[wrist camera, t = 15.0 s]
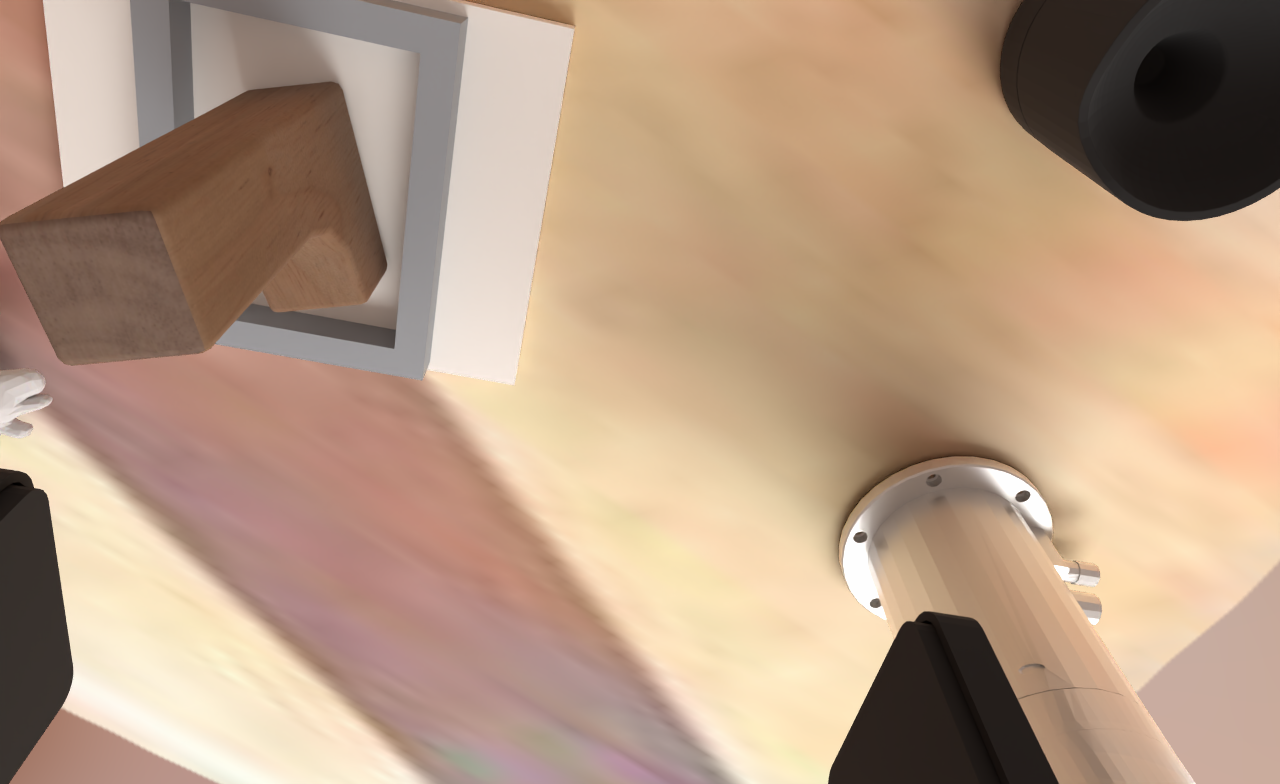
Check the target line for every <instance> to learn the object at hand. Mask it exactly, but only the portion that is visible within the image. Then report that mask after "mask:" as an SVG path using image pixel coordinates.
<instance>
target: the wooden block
mask: <svg viewBox="0 0 1280 784" xmlns="http://www.w3.org/2000/svg"><path fill="white" fill-rule="evenodd" d="M0 239H1V241H2V243H3V245H4V247H5V250H6V252H7V254H8V256H9V258H10V260H11V262H12V264H13V266H14V268H15V270H16V272H17V274H18V276H19V278H20V280H21V283H22V285H23V287H24V289H25V291H26V293H27V295H28V297H29V299H30V301H31V303H32V305H33V307H34V309H35V311H36V314H37V316H38V318H39V320H40V322H41V324H42V326H43V328H44V330H45V332H46V334H47V336H48V338H49V340H50V342H51V344H52V347H53V349H54V351H55V353H56V355H57V357H58V358H59V359H60V360H61V361H62V362H63V363H64V364H67V365H71V366H74V365H84V364H95V363H105V362H116V361H126V360H137V359H147V358H158V357H168V356H179V355H189V354H199V353H203V352H205V351H207V350H209V349H210V348H212V346H213V345H214V344H215V343H216V342H217V341H218V340H219V339H220V338H221V336H222V335H223V334H224V333H225V332H226V331H227V330H228V329H229V328H230V326H231V325H232V324H233V323H234V322H235V321H236V320H237V319H238V318H239V316H240V315H241V314H242V313H243V312H244V311H245V310H246V309H247V308H248V307H249V305H250V304H251V303H252V302H253V301H254V300H255V299H256V298H257V297H258V295H259V294H260V293H261V292H262V291H263V294H264V296H265V298H266V300H267V303H268V305H269V307H270V308H271V310H272V311H274V312H288V311H299V310H309V309H320V308H330V307H341V306H351V305H361V304H364V303H365V302H367V301H368V299H369V298H370V296H371V295H372V293H373V291H374V290H375V288H376V286H377V285H378V283H379V282H380V280H381V278H382V277H383V275H384V274H385V272H386V270H387V261H386V257H385V253H384V249H383V245H382V241H381V237H380V233H379V229H378V225H377V222H376V218H375V214H374V210H373V206H372V202H371V198H370V194H369V190H368V186H367V182H366V178H365V175H364V171H363V167H362V163H361V159H360V155H359V151H358V147H357V143H356V139H355V136H354V132H353V128H352V124H351V120H350V116H349V112H348V108H347V104H346V101H345V97H344V93H343V90H342V88H341V86H340V85H339V84H338V83H335V82H321V83H312V84H302V85H292V86H283V87H273V88H264V89H254V90H248V91H246V92H244V93H242V94H240V95H238V96H236V97H235V98H233V99H231V100H229V101H227V102H225V103H223V104H221V105H220V106H218V107H216V108H214V109H212V110H210V111H208V112H206V113H205V114H203V115H201V116H199V117H197V118H195V119H193V120H191V121H189V122H187V123H186V124H184V125H182V126H180V127H178V128H176V129H174V130H172V131H170V132H168V133H166V134H164V135H162V136H160V137H159V138H157V139H155V140H153V141H151V142H149V143H147V144H145V145H143V146H141V147H140V148H138V149H136V150H134V151H132V152H130V153H128V154H126V155H124V156H123V157H121V158H119V159H117V160H115V161H113V162H111V163H109V164H107V165H105V166H104V167H102V168H100V169H98V170H96V171H94V172H92V173H90V174H88V175H87V176H85V177H83V178H81V179H79V180H77V181H75V182H73V183H71V184H69V185H68V186H66V187H64V188H62V189H60V190H58V191H56V192H54V193H52V194H51V195H49V196H47V197H45V198H43V199H41V200H39V201H37V202H35V203H33V204H32V205H30V206H28V207H26V208H24V209H22V210H20V211H18V212H16V213H15V214H13V215H11V216H9V217H7V218H6V219H4V220H3V221H1V222H0Z"/></svg>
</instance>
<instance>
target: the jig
mask: <svg viewBox="0 0 1280 784" xmlns="http://www.w3.org/2000/svg"><path fill="white" fill-rule="evenodd" d="M43 6H44V15H45V24H46V33H47V42H48V51H49V60H50V69H51V78H52V87H53V96H54V105H55V114H56V123H57V132H58V141H59V150H60V159H61V168H62V177H63V187H66V186H68V185H69V184H71V183H73V182H75V181H77V180H79V179H81V178H83V177H85V176H87V175H88V174H90V173H92V172H94V171H96V170H98V169H100V168H102V167H104V166H105V165H107V164H109V163H111V162H113V161H115V160H117V159H119V158H121V157H123V156H124V155H126V154H128V153H130V152H132V151H134V150H136V149H138V148H140V147H141V146H143V145H145V144H147V143H149V142H151V141H153V140H155V139H157V138H159V137H160V136H162V135H164V134H166V133H168V132H170V131H172V130H174V129H176V128H178V127H180V126H182V125H184V124H186V123H187V122H189V121H191V120H193V119H195V118H197V117H199V116H201V115H203V114H205V113H206V112H208V111H210V110H212V109H214V108H216V107H218V106H220V105H221V104H223V103H225V102H227V101H229V100H231V99H233V98H235V97H236V96H238V95H240V94H242V93H244V92H246V91H248V90H254V89H264V88H273V87H283V86H292V85H302V84H312V83H321V82H335V83H338V84H339V85H340V86H341V88H342V90H343V93H344V97H345V101H346V104H347V108H348V112H349V116H350V120H351V124H352V128H353V132H354V136H355V139H356V143H357V147H358V151H359V155H360V159H361V163H362V167H363V171H364V175H365V178H366V182H367V186H368V190H369V194H370V198H371V202H372V206H373V210H374V214H375V218H376V222H377V225H378V229H379V233H380V237H381V241H382V245H383V249H384V253H385V257H386V261H387V270H386V272H385V274H384V275H383V277H382V278H381V280H380V282H379V283H378V285H377V286H376V288H375V290H374V291H373V293H372V295H371V296H370V298H369V299H368V301H367V302H365V303H364V304H361V305H351V306H341V307H330V308H320V309H309V310H299V311H288V312H274V311H272V310H271V308H270V307H269V305H268V303H267V300H266V298H265V296H264V294H263V291H262V292H261V293H260V294H259V295H258V297H257V298H256V299H255V300H254V301H253V302H252V303H251V304H250V305H249V307H248V308H247V309H246V310H245V311H244V312H243V313H242V314H241V315H240V316H239V318H238V319H237V320H236V321H235V322H234V323H233V324H232V325H231V326H230V328H229V329H228V330H227V331H226V332H225V333H224V334H223V335H222V336H221V338H220V339H219V340H218V341H217V342H216V343H215V344H218V345H223V346H229V347H235V348H240V349H246V350H252V351H257V352H263V353H269V354H275V355H280V356H286V357H292V358H297V359H303V360H309V361H314V362H320V363H326V364H331V365H337V366H343V367H348V368H354V369H360V370H365V371H371V372H377V373H383V374H388V375H394V376H400V377H405V378H411V379H417V380H423V378H424V375H425V373H426V370H431V371H437V372H442V373H448V374H454V375H459V376H465V377H470V378H476V379H482V380H487V381H493V382H499V383H504V384H510V385H514V384H515V380H516V375H517V369H518V363H519V357H520V351H521V345H522V339H523V333H524V327H525V321H526V315H527V309H528V303H529V298H530V292H531V286H532V280H533V274H534V268H535V262H536V256H537V250H538V244H539V238H540V232H541V226H542V220H543V214H544V208H545V202H546V196H547V190H548V185H549V179H550V173H551V167H552V161H553V155H554V149H555V143H556V137H557V131H558V125H559V119H560V113H561V107H562V101H563V95H564V89H565V83H566V78H567V72H568V66H569V60H570V54H571V48H572V42H573V36H574V30H575V26H573V25H569V24H564V23H560V22H555V21H551V20H547V19H542V18H538V17H534V16H529V15H525V14H521V13H516V12H512V11H508V10H503V9H499V8H495V7H490V6H486V5H482V4H477V3H473V2H469V1H464V0H43Z"/></svg>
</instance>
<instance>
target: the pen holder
mask: <svg viewBox="0 0 1280 784" xmlns="http://www.w3.org/2000/svg"><path fill="white" fill-rule="evenodd" d="M1000 78H1001V85H1002V91H1003V94H1004V98H1005V101H1006V103H1007V105H1008V108H1009V110H1010V112H1011V113H1012V115H1013V116H1014V118H1015V119H1016V121H1017V122H1018V123H1019V124H1020V125H1021V126H1022V127H1023V128H1024V129H1025V130H1026V131H1027V132H1028V133H1029V134H1031V135H1032V136H1033V137H1034V138H1036V139H1037V140H1038V141H1040V142H1041V143H1042V144H1043V145H1045V146H1046V147H1047V148H1048V149H1050V150H1051V151H1052V152H1054V153H1055V154H1056V155H1058V156H1059V157H1061V158H1062V159H1063V160H1065V161H1066V162H1068V163H1069V164H1070V165H1072V166H1073V167H1075V168H1076V169H1077V170H1079V171H1080V172H1082V173H1083V174H1084V175H1086V176H1087V177H1089V178H1090V179H1091V180H1093V181H1094V182H1096V183H1097V184H1098V185H1100V186H1101V187H1103V188H1104V189H1105V190H1107V191H1108V192H1110V193H1111V194H1112V195H1114V196H1115V197H1117V198H1118V199H1119V200H1121V201H1122V202H1124V203H1125V204H1126V205H1128V206H1130V207H1132V208H1134V209H1135V210H1137V211H1139V212H1141V213H1144V214H1147V215H1149V216H1152V217H1156V218H1161V219H1166V220H1177V221H1191V220H1203V219H1208V218H1213V217H1218V216H1221V215H1225V214H1228V213H1231V212H1234V211H1237V210H1239V209H1242V208H1244V207H1246V206H1249V205H1251V204H1253V203H1255V202H1257V201H1259V200H1261V199H1262V198H1264V197H1266V196H1268V195H1270V194H1271V193H1273V192H1274V191H1276V190H1277V189H1279V188H1280V0H1024V1H1023V2H1022V4H1021V5H1020V7H1019V8H1018V10H1017V12H1016V14H1015V16H1014V18H1013V20H1012V22H1011V24H1010V26H1009V29H1008V32H1007V34H1006V37H1005V41H1004V45H1003V49H1002V55H1001V63H1000Z"/></svg>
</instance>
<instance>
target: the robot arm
mask: <svg viewBox="0 0 1280 784" xmlns="http://www.w3.org/2000/svg"><path fill="white" fill-rule="evenodd" d="M1052 537H1053V524H1052V516H1051V513H1050V511H1049V508H1048V506H1047V503H1046V501H1045V500H1044V498H1043V497H1042V495H1041V494H1040V492H1039V491H1038V489H1037V488H1036V487H1035V486H1034V485H1033V484H1032V483H1031V482H1030V480H1029V479H1028V478H1027V477H1026V476H1025V475H1023V474H1021V473H1020V472H1018V471H1017V470H1015V469H1014V468H1012V467H1011V466H1008V465H1005V464H1003V463H1000V462H997V461H995V460H991V459H985V458H980V457H972V456H952V457H945V458H939V459H932V460H929V461H925V462H922V463H919V464H915V465H912V466H910V467H908V468H906V469H904V470H901V471H899V472H897V473H895V474H893V475H891V476H890V477H888V478H887V479H885V480H884V481H882V482H881V483H879V484H878V485H876V486H875V487H874V488H873V489H872V490H871V491H870V492H869V493H868V494H867V495H865V496H864V497H863V498H862V499H861V500H860V502H859V503H858V504H857V506H856V507H855V508H854V510H853V511H852V512H851V514H850V515H849V517H848V520H847V522H846V524H845V526H844V528H843V530H842V534H841V539H840V543H839V562H840V566H841V569H842V573H843V577H844V579H845V581H846V584H847V586H848V589H849V590H850V592H851V593H852V595H853V596H854V597H855V599H856V600H857V601H858V602H859V603H860V604H861V605H862V606H863V607H864V608H866V609H867V610H868V611H870V612H871V613H873V614H875V615H877V616H879V617H881V618H883V619H885V620H887V622H888V625H889V628H890V631H891V633H892V636H893V639H894V641H893V643H892V646H891V648H890V650H889V652H888V654H887V656H886V658H885V660H884V662H883V664H882V666H881V668H880V670H879V672H878V674H877V676H876V678H875V680H874V682H873V684H872V686H871V688H870V690H869V692H868V694H867V696H866V698H865V700H864V702H863V704H862V706H861V708H860V710H859V712H858V714H857V716H856V718H855V720H854V722H853V724H852V726H851V729H850V731H849V733H848V735H847V737H846V739H845V741H844V743H843V745H842V747H841V749H840V751H839V753H838V755H837V757H836V759H835V761H834V763H833V765H832V767H831V770H830V774H829V781H828V784H1196V783H1195V782H1194V780H1193V779H1192V777H1191V776H1190V774H1189V773H1188V771H1187V770H1186V769H1185V767H1184V766H1183V764H1182V763H1181V761H1180V760H1179V759H1178V757H1177V755H1176V754H1175V752H1174V751H1173V749H1172V748H1171V746H1170V745H1169V743H1168V742H1167V740H1166V739H1165V737H1164V736H1163V734H1162V732H1161V731H1160V729H1159V728H1158V726H1157V725H1156V723H1155V722H1154V720H1153V719H1152V717H1151V716H1150V715H1149V713H1148V711H1147V709H1146V708H1145V707H1144V705H1143V703H1142V702H1141V700H1140V699H1139V697H1138V695H1137V694H1136V692H1135V691H1134V689H1133V688H1132V686H1131V685H1130V683H1129V681H1128V680H1127V678H1126V677H1125V675H1124V674H1123V672H1122V671H1121V669H1120V667H1119V666H1118V664H1117V663H1116V661H1115V660H1114V658H1113V657H1112V655H1111V653H1110V652H1109V650H1108V649H1107V647H1106V646H1105V644H1104V643H1103V641H1102V640H1101V638H1100V636H1099V635H1098V633H1097V632H1096V630H1095V629H1094V627H1093V626H1092V625H1095V624H1096V623H1097V622H1098V621H1099V620H1100V617H1101V613H1102V607H1101V602H1100V600H1099V598H1098V597H1097V596H1096V595H1095V594H1091V593H1085V592H1079V591H1073V590H1069V588H1068V587H1067V585H1066V584H1065V582H1070V583H1071V584H1075V585H1082V586H1088V587H1095V586H1096V585H1097V584H1098V582H1099V579H1100V571H1099V568H1098V566H1096V565H1095V564H1092V563H1086V562H1080V561H1067V560H1063V558H1062V557H1061V556H1060V554H1059V553H1058V551H1057V550H1056V548H1055V547H1054V545H1053V544H1052ZM72 679H73V663H72V656H71V650H70V643H69V636H68V629H67V623H66V616H65V609H64V602H63V596H62V589H61V582H60V575H59V568H58V562H57V555H56V548H55V541H54V535H53V528H52V521H51V514H50V507H49V501H48V497H47V494H46V493H45V492H44V491H43V490H41V489H36V488H34V486H33V483H32V480H31V478H30V477H29V476H28V475H27V474H26V473H23V472H20V471H14V470H7V469H1V468H0V784H9V783H10V781H11V780H12V778H13V777H14V775H15V774H16V772H17V771H18V769H19V768H20V767H21V765H22V764H23V762H24V761H25V759H26V758H27V756H28V755H29V753H30V752H31V750H32V749H33V748H34V746H35V745H36V743H37V742H38V740H39V739H40V737H41V736H42V735H43V733H44V732H45V730H46V729H47V727H48V726H49V724H50V723H51V721H52V720H53V719H54V717H55V715H56V714H57V713H58V711H59V710H60V708H61V707H62V705H63V704H64V702H65V700H66V698H67V696H68V693H69V691H70V687H71V684H72Z"/></svg>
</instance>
